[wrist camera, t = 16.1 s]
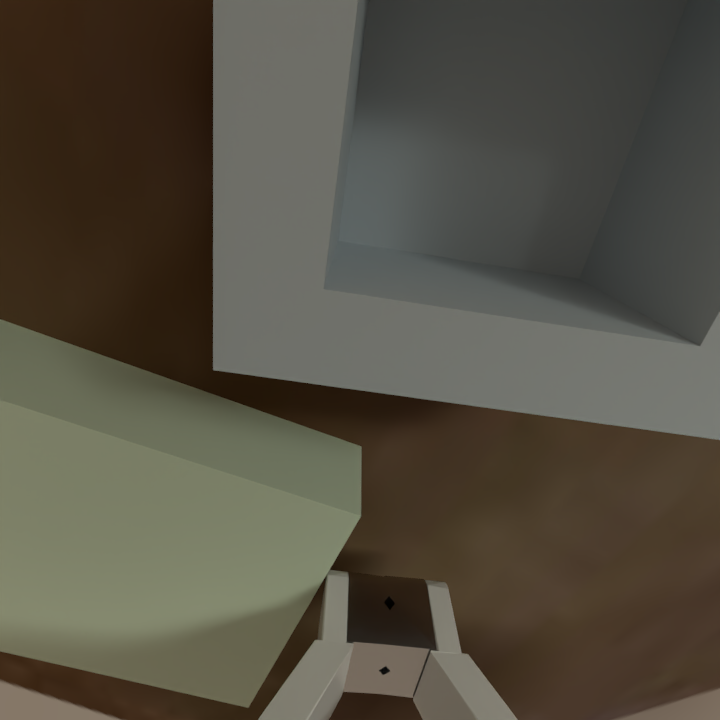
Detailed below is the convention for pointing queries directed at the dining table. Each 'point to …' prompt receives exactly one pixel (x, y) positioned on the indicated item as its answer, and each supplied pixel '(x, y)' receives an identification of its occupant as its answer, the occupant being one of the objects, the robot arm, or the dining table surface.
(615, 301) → the socket block
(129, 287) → the dining table surface
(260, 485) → the plate board
